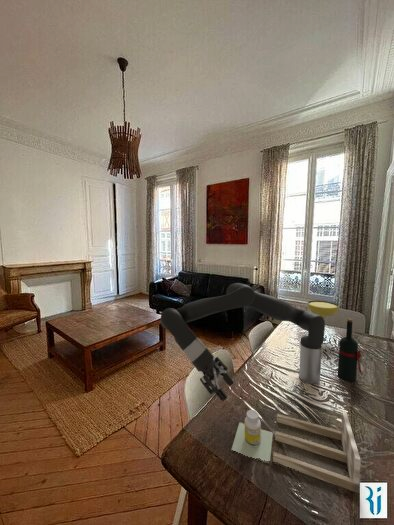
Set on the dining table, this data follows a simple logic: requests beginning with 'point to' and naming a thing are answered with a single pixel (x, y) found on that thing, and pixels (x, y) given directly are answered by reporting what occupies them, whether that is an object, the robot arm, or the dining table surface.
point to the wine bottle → (348, 356)
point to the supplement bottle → (252, 429)
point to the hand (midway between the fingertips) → (228, 391)
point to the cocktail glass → (323, 308)
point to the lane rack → (322, 451)
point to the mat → (255, 452)
